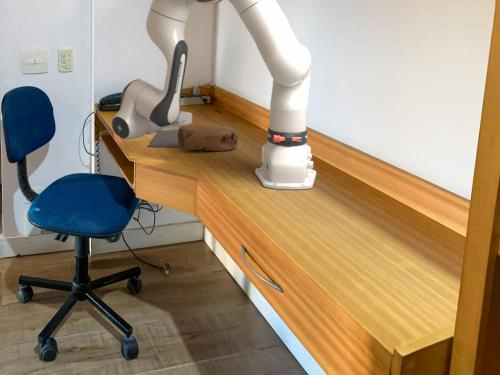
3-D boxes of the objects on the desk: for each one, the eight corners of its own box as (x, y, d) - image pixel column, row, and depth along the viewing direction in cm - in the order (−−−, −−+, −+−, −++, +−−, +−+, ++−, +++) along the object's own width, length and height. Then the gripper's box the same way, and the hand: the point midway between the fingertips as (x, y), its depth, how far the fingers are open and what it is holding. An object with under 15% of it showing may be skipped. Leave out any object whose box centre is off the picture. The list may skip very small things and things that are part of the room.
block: (177, 123, 210) (232, 124, 216) (176, 144, 212) (230, 144, 219) (184, 131, 200) (241, 132, 207) (183, 153, 203) (239, 153, 209)
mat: (198, 148, 211) (198, 147, 211) (147, 147, 211) (147, 146, 211) (204, 132, 234) (204, 131, 234) (157, 131, 234) (157, 130, 234)
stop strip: (204, 132, 234) (204, 126, 233) (157, 131, 234) (157, 125, 233) (204, 131, 236) (204, 125, 235) (158, 130, 236) (158, 124, 235)
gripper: (178, 113, 189) (202, 106, 200) (126, 105, 198) (152, 99, 209) (178, 132, 191) (201, 124, 202) (127, 124, 200) (152, 117, 211)
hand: (176, 112), depth 206 cm, fingers closed
